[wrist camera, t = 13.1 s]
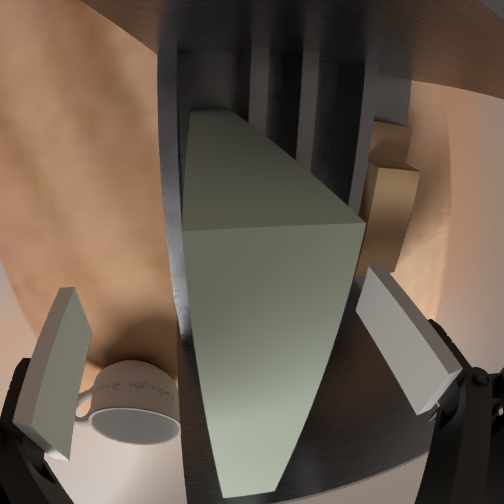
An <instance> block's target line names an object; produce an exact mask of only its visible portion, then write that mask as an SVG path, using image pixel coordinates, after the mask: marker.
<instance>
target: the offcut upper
mask: <svg viewBox="0 0 504 504" xmlns="http://www.w3.org/2000/svg"><path fill="white" fill-rule="evenodd" d="M420 173H421V172H420V171H419V170H417V169H415V168H413V167H411V166H409V165H407V164H405V163H396V162H386V161H375V160H368V165H367V171H366V177H365V183H364V189H363V194H362V200H361V205H360V210H359V217H360V218H361V219H362V220H363V221H364V222H365V223H366V226H365V231H364V235H363V240H362V244H361V248H360V252H359V257H358V261H357V265H356V269H355V272H354V276H355V277H357V276H366V274H367V271H368V267H369V266H375V265H383V267H384V268H385V269H386V270H387V271H388V272H389V273H391V272H394V271H395V267H396V264H397V261H398V258H399V255H400V251H401V248H402V245H403V241H404V238H405V234H406V231H407V227H408V223H409V220H410V216H411V212H412V208H413V204H414V200H415V195H416V191H417V187H418V182H419V177H420Z"/></svg>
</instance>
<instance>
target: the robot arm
mask: <svg viewBox="0 0 504 504" xmlns="http://www.w3.org/2000/svg"><path fill="white" fill-rule="evenodd" d="M356 312H357V314H358V315H359V317H360V318H361V320H362V322H363V323H364V325H365V327H366V328H367V330H368V331H369V333H370V335H371V336H372V338H373V340H374V341H375V343H376V345H377V346H378V348H379V350H380V351H381V353H382V355H383V357H384V358H385V360H386V362H387V363H388V365H389V367H390V368H391V370H392V372H393V374H394V375H395V377H396V379H397V381H398V382H399V384H400V386H401V388H402V389H403V391H404V393H405V395H406V397H407V398H408V400H409V402H410V404H411V406H412V407H413V409H414V411H415V413H416V415H419V414H421V413H423V412H426V411H428V410H430V409H431V408H432V407H433V406H434V405H435V403H436V402H438V403H439V405H440V407H439V408H438V409H437V410H436V411H435V412H434V413H433V414H432V416H431V417H430V419H429V421H432V420H433V419H434V417H435V416H436V420H435V421H434V422H435V425H434V431H433V436H432V441H431V445H430V450H429V454H428V458H427V462H426V466H425V470H424V474H423V477H422V481H421V485H420V488H419V491H418V494H417V497H416V501H415V504H504V413H503V414H502V415H499V410H500V409H501V408H502V407H503V412H504V368H503V369H502V370H501V371H500V373H494V374H488V373H487V372H486V371H485V370H483V369H481V368H478V367H473V368H472V367H471V366H470V364H469V363H468V362H467V360H466V359H465V358H464V356H463V355H462V354H461V352H460V351H459V349H458V348H457V347H456V345H455V344H454V343H452V340H451V339H450V337H449V336H447V333H446V332H445V331H444V330H443V328H442V327H441V326H440V325H439V324H437V323H436V322H435V321H433V320H432V319H429V320H427V319H426V318H425V316H424V315H423V314H422V313H421V311H420V310H419V309H418V308H417V306H416V305H415V304H414V303H413V301H412V300H411V299H410V298H409V296H408V295H407V294H406V293H405V292H404V290H403V289H402V288H401V287H400V286H399V284H398V283H397V282H396V281H395V280H394V278H393V277H392V276H391V275H390V274H389V272H388V271H387V270H386V269H385V268H384V267H383V265H375V266H369V267H368V271H367V274H366V278H365V281H364V285H363V288H362V291H361V295H360V298H359V301H358V304H357V307H356ZM91 336H92V331H91V328H90V326H89V324H88V321H87V318H86V316H85V313H84V311H83V308H82V305H81V303H80V300H79V297H78V294H77V292H76V289H75V287H67V288H60V289H59V291H58V293H57V296H56V298H55V300H54V302H53V305H52V307H51V309H50V312H49V314H48V316H47V319H46V321H45V324H44V326H43V328H42V331H41V334H40V336H39V339H38V341H37V344H36V347H35V349H34V352H33V355H32V358H23V359H22V360H21V362H20V363H19V364H18V365H17V367H16V368H15V371H14V374H13V377H12V381H11V383H10V386H9V390H8V392H7V396H6V399H5V402H4V406H3V409H2V413H1V417H0V504H74V503H73V501H72V500H71V499H70V497H69V496H68V494H67V493H66V492H65V490H64V489H63V487H62V486H61V484H60V483H59V481H58V479H57V478H56V476H55V475H54V473H53V472H52V470H51V468H50V467H49V465H48V463H47V462H46V461H45V460H44V452H46V453H47V454H48V455H49V456H51V457H52V458H56V459H62V460H68V461H69V459H70V458H69V457H70V449H71V440H72V433H73V426H74V419H75V413H76V407H77V401H78V395H79V390H80V385H81V380H82V375H83V370H84V365H85V361H86V357H87V352H88V348H89V344H90V340H91Z"/></svg>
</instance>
